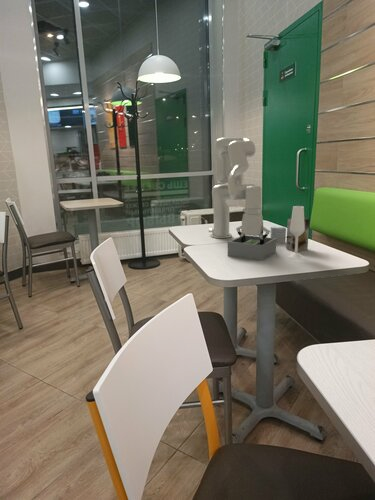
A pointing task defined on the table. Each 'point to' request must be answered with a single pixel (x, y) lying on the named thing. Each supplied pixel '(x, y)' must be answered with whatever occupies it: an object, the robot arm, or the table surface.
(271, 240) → the box
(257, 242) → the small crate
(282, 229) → the medicine box
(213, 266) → the table surface
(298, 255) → the champagne flute
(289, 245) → the coffee box
